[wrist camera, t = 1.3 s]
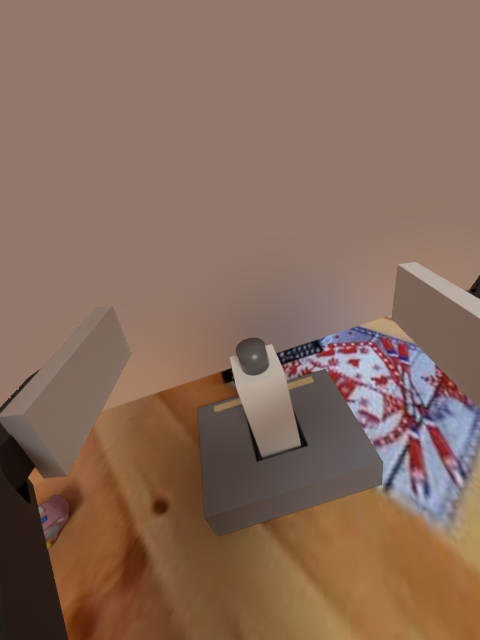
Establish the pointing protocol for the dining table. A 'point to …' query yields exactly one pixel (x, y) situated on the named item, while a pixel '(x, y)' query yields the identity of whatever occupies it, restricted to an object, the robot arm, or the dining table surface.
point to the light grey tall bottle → (265, 397)
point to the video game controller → (53, 517)
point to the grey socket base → (283, 458)
